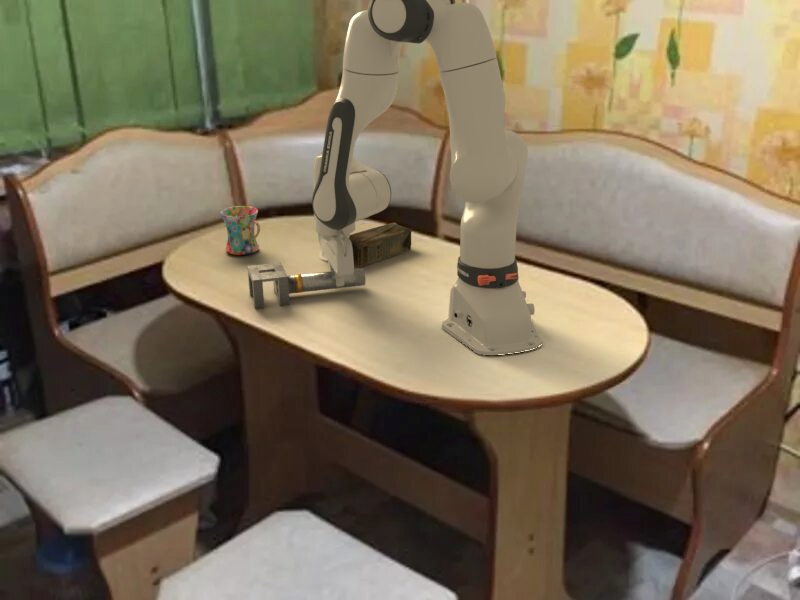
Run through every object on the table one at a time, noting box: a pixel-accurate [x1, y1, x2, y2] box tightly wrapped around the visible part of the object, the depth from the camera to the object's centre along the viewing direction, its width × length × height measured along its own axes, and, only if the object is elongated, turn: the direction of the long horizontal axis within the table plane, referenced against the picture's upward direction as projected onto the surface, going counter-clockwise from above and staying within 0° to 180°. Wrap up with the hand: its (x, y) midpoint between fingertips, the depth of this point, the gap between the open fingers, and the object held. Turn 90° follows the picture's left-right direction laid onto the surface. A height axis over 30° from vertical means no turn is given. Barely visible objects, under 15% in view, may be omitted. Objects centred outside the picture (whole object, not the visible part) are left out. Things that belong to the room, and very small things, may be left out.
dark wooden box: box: [349, 222, 412, 269], centre depth 220 cm, size 8×19×7 cm, turn 134°
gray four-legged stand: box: [247, 262, 290, 310], centre depth 195 cm, size 9×8×7 cm
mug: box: [219, 205, 261, 256], centre depth 222 cm, size 12×9×11 cm
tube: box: [273, 267, 366, 296], centre depth 199 cm, size 20×4×4 cm, turn 106°
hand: (337, 280), depth 200 cm, fingers closed on tube, 4 cm apart
